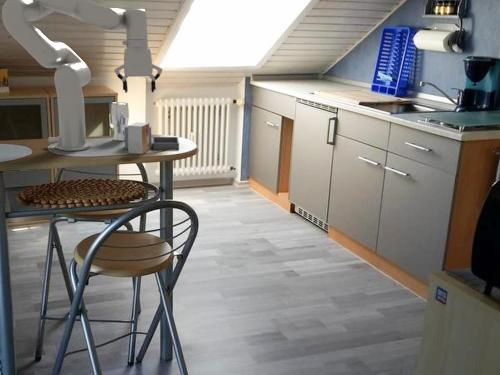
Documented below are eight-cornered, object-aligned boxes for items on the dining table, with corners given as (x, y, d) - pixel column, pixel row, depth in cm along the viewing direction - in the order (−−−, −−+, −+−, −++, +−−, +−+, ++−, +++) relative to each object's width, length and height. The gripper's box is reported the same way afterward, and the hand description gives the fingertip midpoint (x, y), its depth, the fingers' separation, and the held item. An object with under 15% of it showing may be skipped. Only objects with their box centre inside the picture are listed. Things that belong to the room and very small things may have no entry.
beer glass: (130, 138, 250) (129, 102, 246) (128, 141, 244) (127, 104, 240) (114, 137, 250) (112, 101, 246) (110, 141, 243) (109, 104, 239)
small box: (142, 154, 223) (141, 126, 220) (128, 153, 224) (127, 125, 221) (150, 150, 230) (149, 122, 227) (136, 149, 231) (135, 121, 228)
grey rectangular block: (125, 148, 231) (124, 127, 228) (125, 146, 235) (125, 125, 233) (151, 148, 232) (151, 127, 230) (151, 146, 237) (151, 125, 235)
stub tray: (152, 149, 231) (152, 143, 230) (152, 143, 242) (152, 137, 242) (178, 149, 232) (178, 143, 232) (177, 143, 244) (177, 137, 243)
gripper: (111, 44, 212) (114, 93, 217) (161, 44, 214) (162, 93, 219) (114, 44, 220) (116, 91, 224) (161, 43, 221) (163, 90, 226)
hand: (139, 92), depth 222 cm, fingers open, 9 cm apart
